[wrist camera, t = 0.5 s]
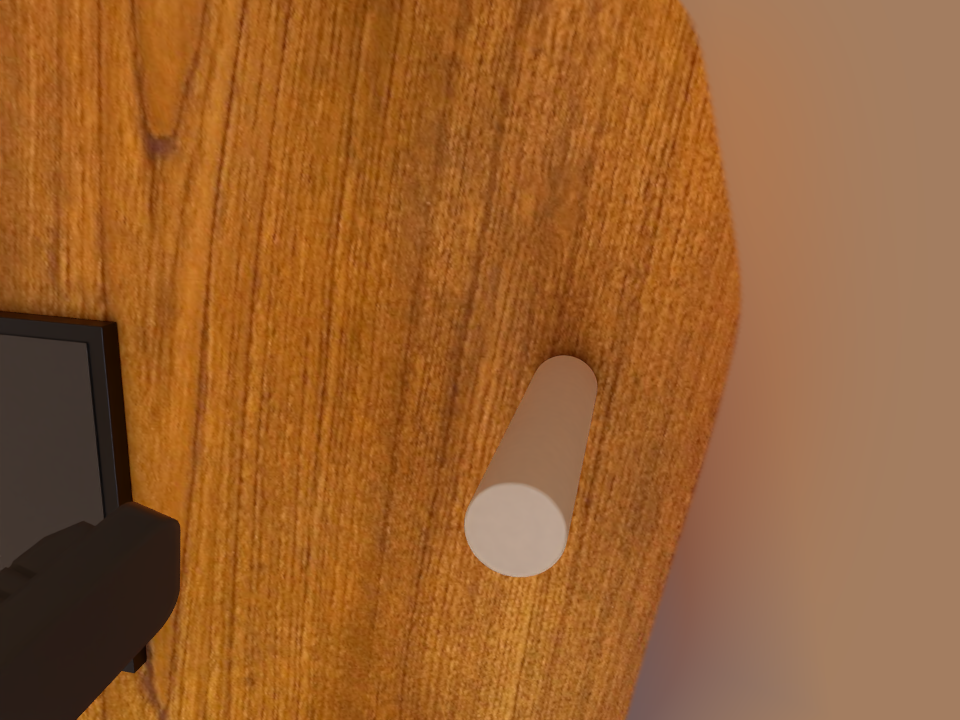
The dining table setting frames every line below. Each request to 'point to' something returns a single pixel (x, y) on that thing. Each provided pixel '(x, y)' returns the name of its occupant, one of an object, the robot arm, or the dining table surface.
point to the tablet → (59, 430)
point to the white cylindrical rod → (535, 473)
